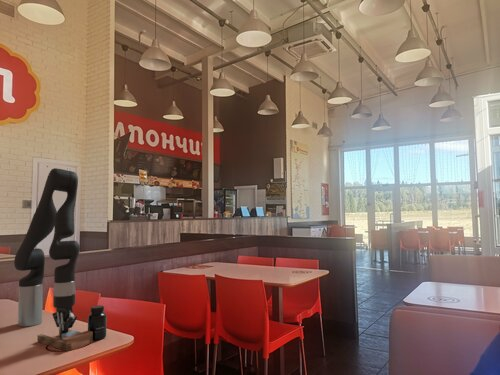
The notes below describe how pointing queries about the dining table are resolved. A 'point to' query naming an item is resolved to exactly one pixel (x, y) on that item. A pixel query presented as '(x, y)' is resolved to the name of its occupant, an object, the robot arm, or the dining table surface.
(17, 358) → the dining table surface
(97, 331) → the supplement bottle
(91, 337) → the track
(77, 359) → the dining table surface
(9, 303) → the dining table surface
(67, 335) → the block
